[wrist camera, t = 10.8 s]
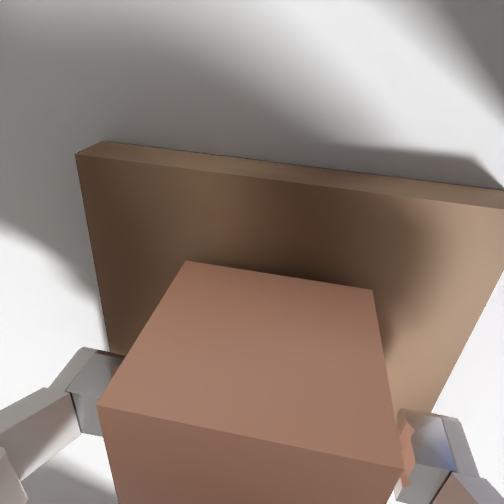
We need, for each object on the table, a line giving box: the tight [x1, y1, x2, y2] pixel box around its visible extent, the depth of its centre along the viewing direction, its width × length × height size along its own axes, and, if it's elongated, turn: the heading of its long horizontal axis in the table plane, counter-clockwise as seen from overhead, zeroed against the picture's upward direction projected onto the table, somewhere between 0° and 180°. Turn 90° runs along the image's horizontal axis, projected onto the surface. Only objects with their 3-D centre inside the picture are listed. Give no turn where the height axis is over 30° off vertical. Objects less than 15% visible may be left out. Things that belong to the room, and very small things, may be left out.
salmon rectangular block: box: [96, 261, 404, 504], centre depth 10 cm, size 5×7×5 cm
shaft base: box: [75, 141, 504, 423], centre depth 11 cm, size 12×12×6 cm
